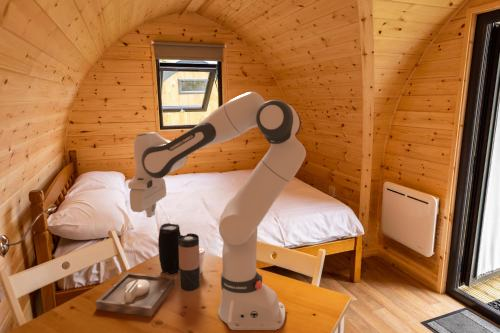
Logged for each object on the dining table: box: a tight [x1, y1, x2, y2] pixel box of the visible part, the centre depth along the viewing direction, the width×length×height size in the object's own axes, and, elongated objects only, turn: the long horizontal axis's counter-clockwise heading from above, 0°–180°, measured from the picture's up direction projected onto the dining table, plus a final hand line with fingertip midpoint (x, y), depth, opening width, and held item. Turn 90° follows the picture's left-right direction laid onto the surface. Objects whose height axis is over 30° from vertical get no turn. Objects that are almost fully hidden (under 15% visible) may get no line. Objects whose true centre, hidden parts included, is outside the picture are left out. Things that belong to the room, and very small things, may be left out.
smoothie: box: [199, 246, 206, 274], centre depth 139 cm, size 6×6×14 cm
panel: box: [95, 272, 176, 317], centre depth 122 cm, size 20×20×3 cm
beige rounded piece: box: [125, 280, 150, 303], centre depth 120 cm, size 12×8×4 cm
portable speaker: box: [157, 222, 182, 276], centre depth 139 cm, size 9×9×20 cm
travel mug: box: [178, 232, 201, 292], centre depth 128 cm, size 8×8×20 cm
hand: (150, 216), depth 121 cm, fingers closed
